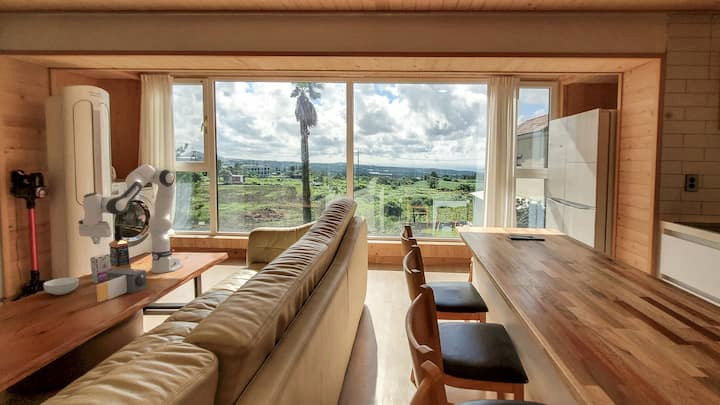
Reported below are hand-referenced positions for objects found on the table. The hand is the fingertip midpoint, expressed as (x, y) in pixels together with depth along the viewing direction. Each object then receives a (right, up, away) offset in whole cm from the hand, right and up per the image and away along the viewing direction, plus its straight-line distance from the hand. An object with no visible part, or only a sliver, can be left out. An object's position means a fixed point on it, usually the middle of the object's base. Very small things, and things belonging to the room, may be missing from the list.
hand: (96, 244), depth 241 cm
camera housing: (+14, -28, +6) cm, 32 cm away
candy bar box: (-11, -26, +22) cm, 36 cm away
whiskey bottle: (-12, -23, +46) cm, 53 cm away
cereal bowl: (-19, -29, -1) cm, 35 cm away
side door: (+16, -29, -10) cm, 35 cm away
